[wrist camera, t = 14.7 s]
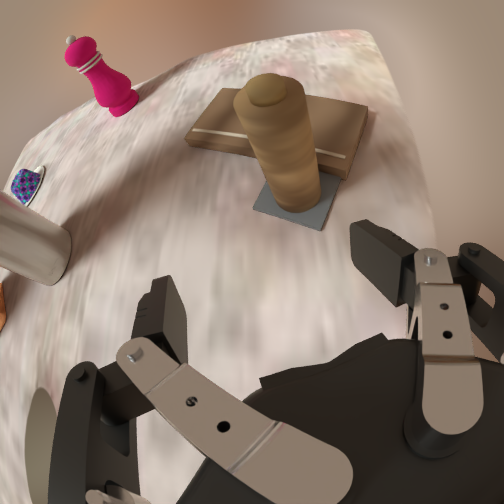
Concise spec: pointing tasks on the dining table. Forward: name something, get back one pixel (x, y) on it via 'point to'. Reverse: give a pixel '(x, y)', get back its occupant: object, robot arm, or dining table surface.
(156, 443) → the dining table surface
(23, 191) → the blue patterned hat
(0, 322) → the whiskey bottle
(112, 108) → the pepper mill
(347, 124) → the walnut board
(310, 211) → the grey flat slab
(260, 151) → the tan tall cylinder
